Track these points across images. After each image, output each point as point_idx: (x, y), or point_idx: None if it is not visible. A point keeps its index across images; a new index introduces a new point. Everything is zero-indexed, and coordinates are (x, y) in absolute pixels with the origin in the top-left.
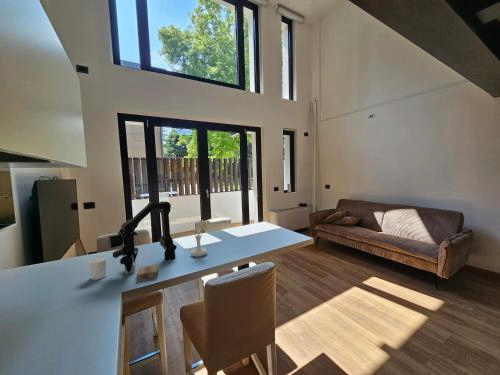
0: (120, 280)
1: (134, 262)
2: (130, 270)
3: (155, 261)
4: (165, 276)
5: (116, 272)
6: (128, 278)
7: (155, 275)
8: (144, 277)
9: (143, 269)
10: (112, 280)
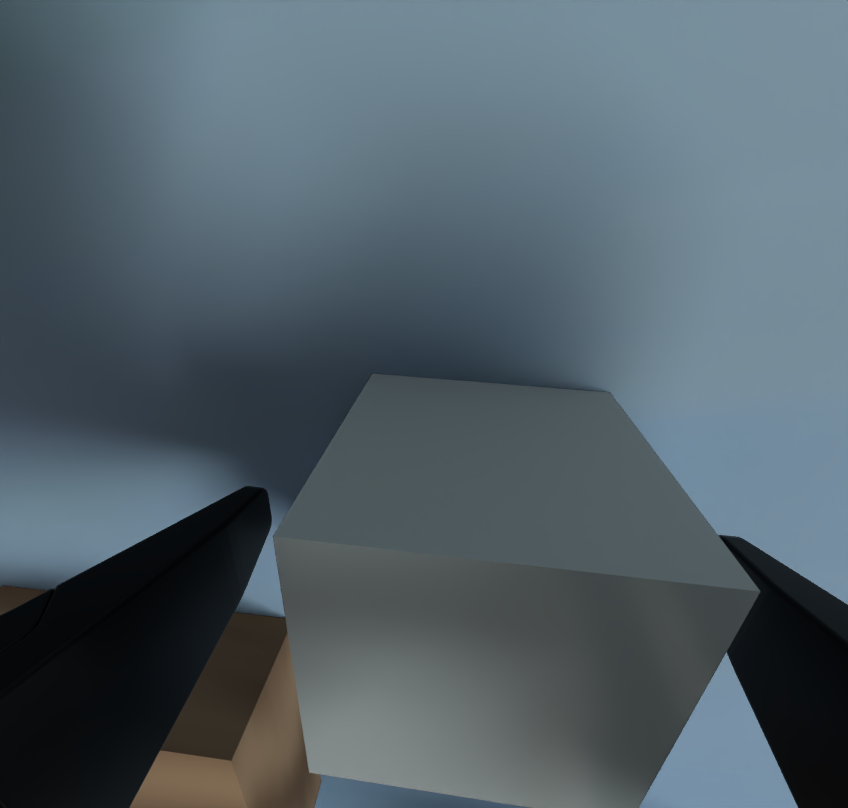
0: (26, 325)
1: (513, 792)
2: (251, 562)
3: (743, 804)
4: None
5: (650, 58)
6: (111, 466)
7: None
8: None
9: None
10: (23, 96)
